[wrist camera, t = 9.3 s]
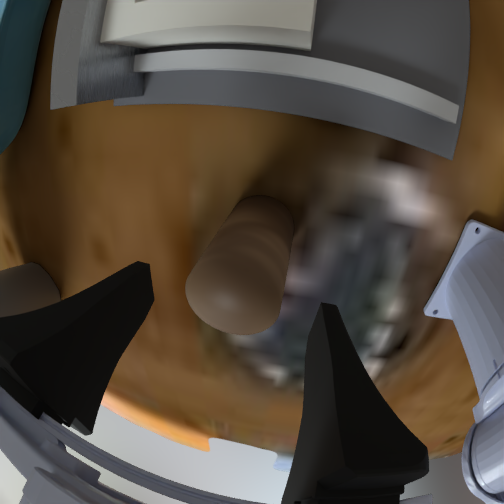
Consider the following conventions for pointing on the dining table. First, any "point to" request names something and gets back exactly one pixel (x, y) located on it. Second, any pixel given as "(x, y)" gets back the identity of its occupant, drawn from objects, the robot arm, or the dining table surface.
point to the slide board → (337, 71)
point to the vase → (26, 289)
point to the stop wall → (90, 59)
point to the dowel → (244, 268)
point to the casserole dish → (17, 60)
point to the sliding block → (209, 23)
